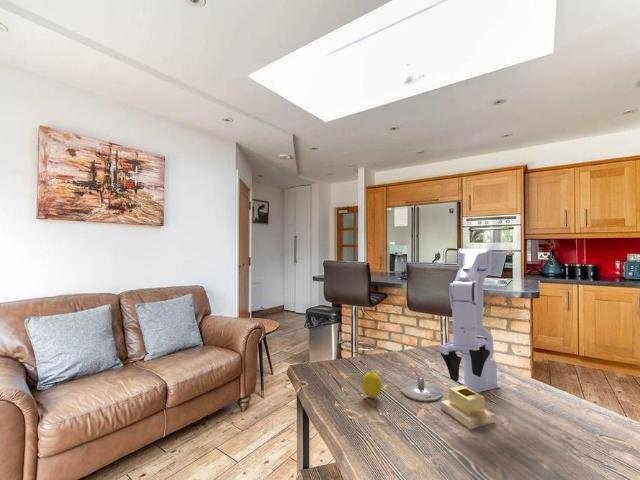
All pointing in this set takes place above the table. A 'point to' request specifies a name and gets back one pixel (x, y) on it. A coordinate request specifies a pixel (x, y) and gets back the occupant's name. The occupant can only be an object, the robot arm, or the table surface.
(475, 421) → the stand
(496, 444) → the table surface
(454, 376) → the robot arm
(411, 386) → the hub
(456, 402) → the gold open box
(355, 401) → the table surface
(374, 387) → the lemon
